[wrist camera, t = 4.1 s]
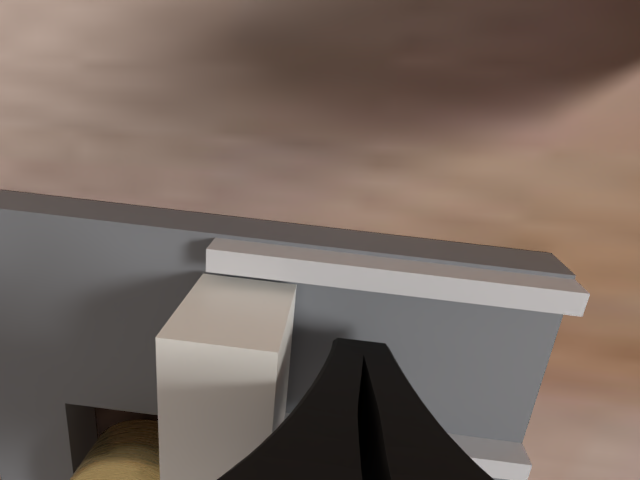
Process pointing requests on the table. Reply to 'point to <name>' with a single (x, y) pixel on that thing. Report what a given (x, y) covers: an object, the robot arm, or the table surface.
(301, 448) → the robot arm
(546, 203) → the table surface
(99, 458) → the brass button
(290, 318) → the white block
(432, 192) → the table surface
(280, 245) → the control panel
